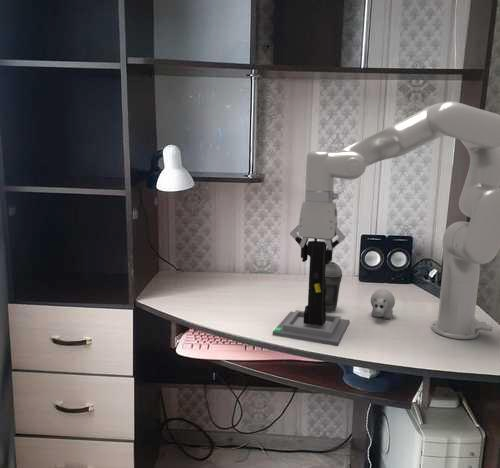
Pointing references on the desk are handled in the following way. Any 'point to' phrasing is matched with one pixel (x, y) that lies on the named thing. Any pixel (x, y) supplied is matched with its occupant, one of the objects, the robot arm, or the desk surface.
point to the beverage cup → (332, 285)
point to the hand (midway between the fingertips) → (316, 261)
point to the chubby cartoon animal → (382, 303)
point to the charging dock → (312, 329)
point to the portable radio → (316, 284)
